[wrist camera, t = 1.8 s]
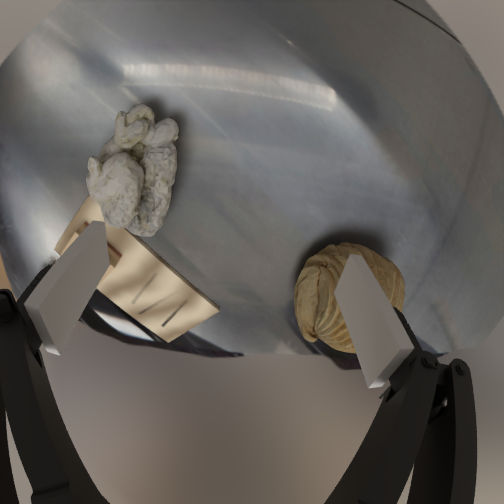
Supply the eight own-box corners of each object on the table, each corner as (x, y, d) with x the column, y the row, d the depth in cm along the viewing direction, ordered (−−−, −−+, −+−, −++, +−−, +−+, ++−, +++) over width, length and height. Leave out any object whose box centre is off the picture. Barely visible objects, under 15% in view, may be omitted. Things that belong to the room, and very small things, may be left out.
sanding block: (70, 243, 38) (60, 255, 35) (86, 220, 36) (75, 231, 33) (104, 274, 41) (96, 287, 38) (122, 255, 39) (114, 268, 36)
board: (56, 246, 39) (54, 249, 38) (92, 192, 34) (89, 194, 34) (169, 339, 51) (168, 342, 50) (219, 307, 46) (219, 310, 46)
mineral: (209, 109, 28) (144, 103, 19) (189, 243, 36) (134, 274, 27) (139, 103, 32) (78, 103, 23) (129, 215, 40) (77, 235, 31)
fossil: (265, 279, 43) (274, 356, 31) (353, 208, 37) (401, 268, 25) (320, 322, 49) (338, 390, 37) (395, 267, 43) (436, 328, 31)
